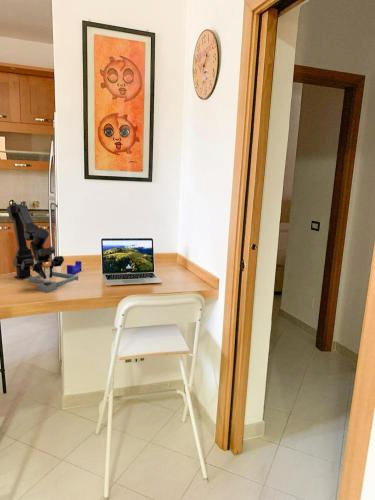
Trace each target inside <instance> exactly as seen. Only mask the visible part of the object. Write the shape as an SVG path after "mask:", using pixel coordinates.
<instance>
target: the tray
mask: <svg viewBox="0 0 375 500" xmlns="http://www.w3.org/2000/svg"><path fill="white" fill-rule="evenodd" d="M52 277H56V278H61V279H62V278H63V280H59V281H57V282H56V281H51V280H50V282H53V283H57V287H59V286H62V285H65V284H68V283H70V282H73V281H79V275H77V274H75V275H71V274H67V273H64V272H58V271H54V270H52ZM28 282H32V283H38V284H40V283H43V282H44V279H43V277H42V276H40V275H39V274H38V275H32V277H29V278H28Z"/></svg>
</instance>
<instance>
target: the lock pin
mask: <svg viewBox="0 0 375 500" xmlns="http://www.w3.org/2000/svg"><path fill="white" fill-rule="evenodd" d="M50 266H51V261H43V262H42V267H43V271H44V274H45V277H46V279H44V278H43V280H44V285H50V281H51V278H50Z"/></svg>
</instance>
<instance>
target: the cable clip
mask: <svg viewBox="0 0 375 500" xmlns="http://www.w3.org/2000/svg"><path fill="white" fill-rule="evenodd" d="M82 270H83V269H82V261H80V260H76V261H75V263H74V265H72V264H67V265H66V274H71V275H77V274H79V273H80V271H81V272H82Z"/></svg>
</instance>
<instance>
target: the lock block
mask: <svg viewBox="0 0 375 500" xmlns="http://www.w3.org/2000/svg"><path fill="white" fill-rule="evenodd" d="M53 282H54V281H52V282H50V285H44V282H43V283H38V284H37V291H38V292H43V293H51V292H54V291H56V290H58V286H57V283H53Z"/></svg>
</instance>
